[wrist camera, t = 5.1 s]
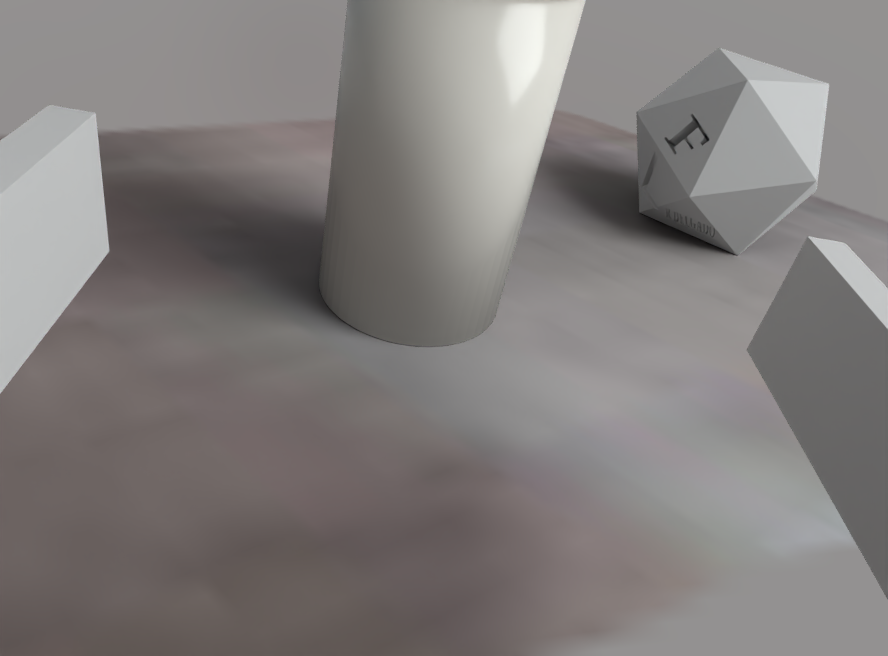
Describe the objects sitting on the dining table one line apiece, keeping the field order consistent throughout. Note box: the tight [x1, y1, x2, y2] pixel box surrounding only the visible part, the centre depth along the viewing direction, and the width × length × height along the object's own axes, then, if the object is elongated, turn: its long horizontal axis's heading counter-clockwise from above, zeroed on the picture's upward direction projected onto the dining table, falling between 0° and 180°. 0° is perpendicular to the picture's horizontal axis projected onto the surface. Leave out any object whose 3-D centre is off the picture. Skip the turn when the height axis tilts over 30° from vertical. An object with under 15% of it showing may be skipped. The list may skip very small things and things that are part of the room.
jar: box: [319, 0, 586, 347], centre depth 23 cm, size 7×7×12 cm
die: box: [637, 48, 829, 255], centre depth 33 cm, size 8×9×10 cm
